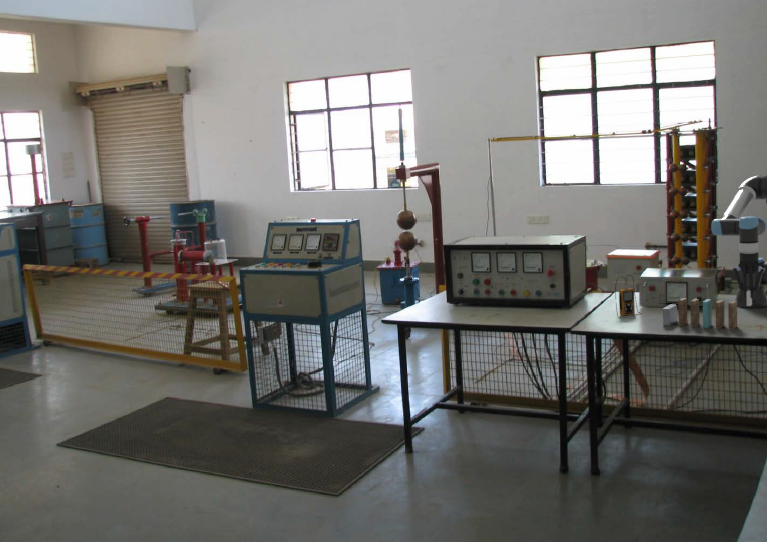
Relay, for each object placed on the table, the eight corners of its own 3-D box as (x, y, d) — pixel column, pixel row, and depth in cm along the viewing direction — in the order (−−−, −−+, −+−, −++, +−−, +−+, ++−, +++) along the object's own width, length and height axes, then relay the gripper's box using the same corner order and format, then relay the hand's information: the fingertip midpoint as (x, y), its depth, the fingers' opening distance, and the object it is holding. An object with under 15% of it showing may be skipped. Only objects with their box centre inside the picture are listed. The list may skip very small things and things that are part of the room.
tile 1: (737, 326, 354) (737, 300, 352) (733, 329, 350) (733, 303, 348) (732, 326, 355) (732, 300, 353) (728, 329, 351) (728, 303, 349)
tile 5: (687, 323, 368) (687, 297, 366) (683, 325, 364) (682, 300, 362) (683, 322, 369) (682, 297, 367) (678, 325, 365) (678, 300, 363)
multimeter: (626, 320, 383) (625, 279, 380) (613, 316, 393) (612, 277, 390) (651, 315, 389) (649, 275, 386) (637, 312, 398) (636, 273, 395)
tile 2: (724, 325, 358) (724, 300, 356) (720, 328, 353) (720, 302, 351) (719, 325, 359) (719, 299, 357) (715, 328, 354) (715, 302, 352)
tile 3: (711, 325, 361) (711, 299, 359) (707, 327, 357) (707, 301, 355) (707, 324, 362) (706, 299, 360) (703, 327, 358) (702, 301, 356)
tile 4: (699, 324, 365) (699, 298, 363) (695, 326, 360) (694, 301, 358) (695, 323, 366) (694, 298, 364) (690, 326, 361) (690, 300, 359)
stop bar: (677, 321, 373) (676, 304, 372) (669, 325, 366) (669, 309, 364) (670, 320, 375) (670, 304, 374) (663, 325, 367) (662, 308, 366)
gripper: (767, 251, 341) (767, 304, 345) (735, 250, 350) (736, 302, 353) (762, 253, 336) (763, 308, 339) (730, 253, 344) (731, 306, 347)
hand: (749, 305), depth 346 cm, fingers closed
